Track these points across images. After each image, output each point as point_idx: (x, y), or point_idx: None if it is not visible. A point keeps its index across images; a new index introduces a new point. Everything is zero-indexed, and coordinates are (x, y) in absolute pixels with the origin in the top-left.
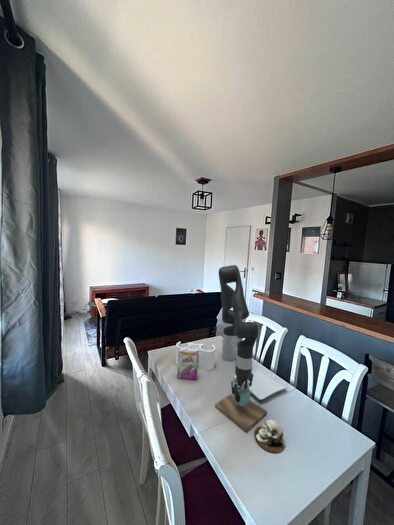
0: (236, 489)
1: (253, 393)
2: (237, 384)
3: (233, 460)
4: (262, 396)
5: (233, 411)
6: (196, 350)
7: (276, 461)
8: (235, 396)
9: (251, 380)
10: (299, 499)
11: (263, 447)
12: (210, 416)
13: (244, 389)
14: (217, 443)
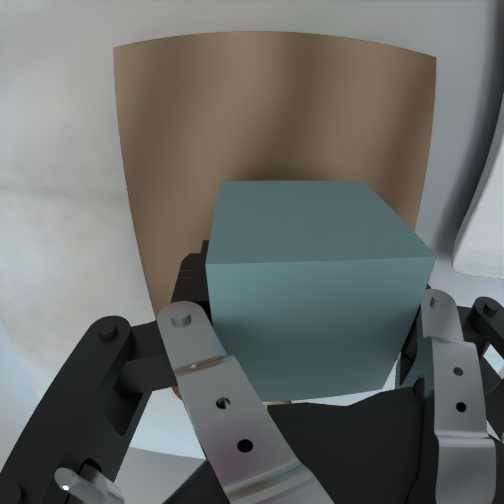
0: (29, 378)
1: (478, 204)
2: (237, 420)
3: (45, 346)
4: (491, 231)
5: (192, 201)
6: None
7: (182, 415)
8: (175, 296)
9: (492, 413)
10: (158, 448)
11: (176, 392)
12: (42, 114)
13: (350, 357)
14: (12, 274)
